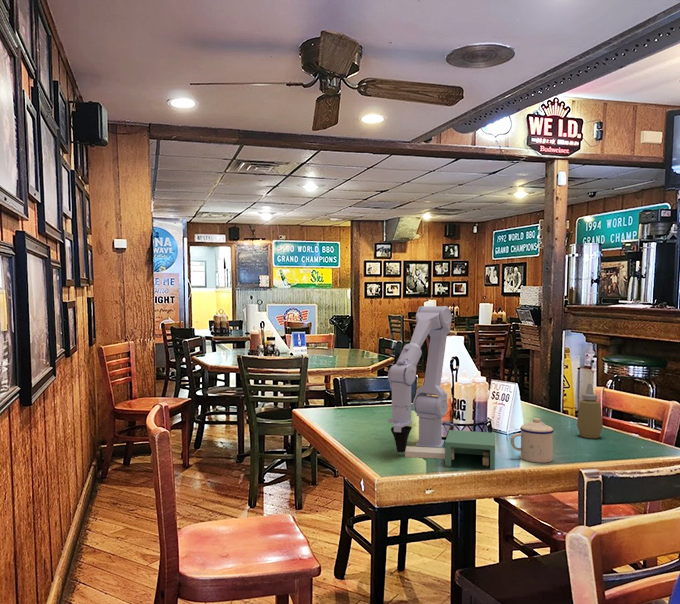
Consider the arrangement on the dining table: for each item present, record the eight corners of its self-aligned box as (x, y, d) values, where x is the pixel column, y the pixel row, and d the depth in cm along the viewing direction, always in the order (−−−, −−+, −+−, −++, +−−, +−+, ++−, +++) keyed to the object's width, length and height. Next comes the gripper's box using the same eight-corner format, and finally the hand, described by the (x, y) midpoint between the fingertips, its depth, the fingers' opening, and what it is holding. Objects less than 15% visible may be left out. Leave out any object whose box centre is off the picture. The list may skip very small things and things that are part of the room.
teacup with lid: (546, 454, 164) (546, 415, 164) (558, 463, 155) (558, 421, 155) (505, 454, 164) (506, 415, 164) (516, 463, 154) (516, 421, 155)
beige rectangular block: (406, 452, 166) (406, 446, 166) (453, 455, 164) (453, 448, 164) (405, 458, 160) (405, 451, 160) (454, 460, 158) (454, 453, 158)
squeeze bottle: (571, 435, 189) (571, 383, 189) (587, 433, 193) (587, 381, 193) (591, 440, 182) (591, 386, 182) (608, 438, 185) (608, 384, 186)
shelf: (449, 451, 167) (449, 429, 167) (494, 454, 163) (494, 432, 163) (444, 465, 151) (445, 442, 151) (494, 469, 148) (494, 445, 148)
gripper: (392, 400, 170) (392, 444, 170) (383, 408, 156) (383, 456, 156) (415, 402, 168) (415, 446, 168) (408, 410, 154) (407, 458, 154)
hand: (401, 451), depth 162 cm, fingers closed
